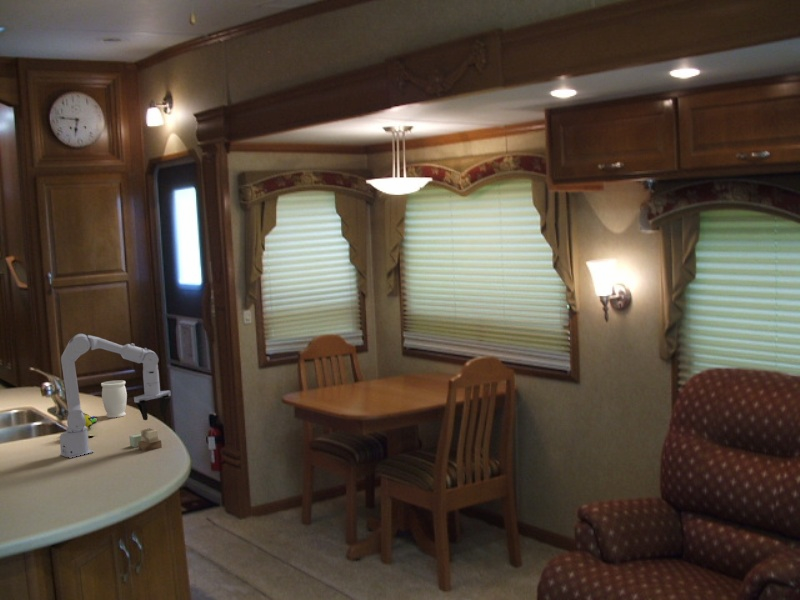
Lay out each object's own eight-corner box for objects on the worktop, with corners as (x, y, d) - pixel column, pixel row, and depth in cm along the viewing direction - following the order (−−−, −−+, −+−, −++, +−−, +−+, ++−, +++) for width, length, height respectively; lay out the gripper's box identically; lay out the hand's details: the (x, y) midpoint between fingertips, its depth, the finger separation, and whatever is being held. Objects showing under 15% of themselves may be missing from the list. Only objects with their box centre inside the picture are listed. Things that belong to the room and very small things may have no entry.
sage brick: (134, 447, 338) (134, 437, 338) (130, 446, 341) (129, 436, 341) (149, 444, 343) (148, 434, 342) (144, 443, 345) (143, 432, 345)
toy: (82, 434, 383) (68, 439, 353) (79, 411, 383) (65, 414, 354) (104, 431, 384) (92, 436, 355) (101, 408, 385) (89, 411, 355)
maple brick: (158, 441, 335) (157, 430, 335) (149, 443, 333) (148, 432, 333) (150, 438, 340) (149, 428, 339) (141, 440, 337) (140, 430, 337)
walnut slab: (143, 451, 333) (142, 444, 332) (138, 449, 337) (138, 441, 336) (161, 448, 336) (161, 440, 336) (157, 445, 341) (156, 438, 340)
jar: (102, 415, 399) (99, 381, 397) (126, 412, 403) (123, 379, 401) (105, 419, 389) (102, 385, 388) (130, 416, 393) (127, 382, 392)
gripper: (139, 386, 333) (142, 423, 334) (174, 380, 343) (176, 415, 344) (130, 385, 338) (132, 420, 339) (164, 378, 348) (166, 413, 349)
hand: (154, 417), depth 342 cm, fingers open, 7 cm apart
